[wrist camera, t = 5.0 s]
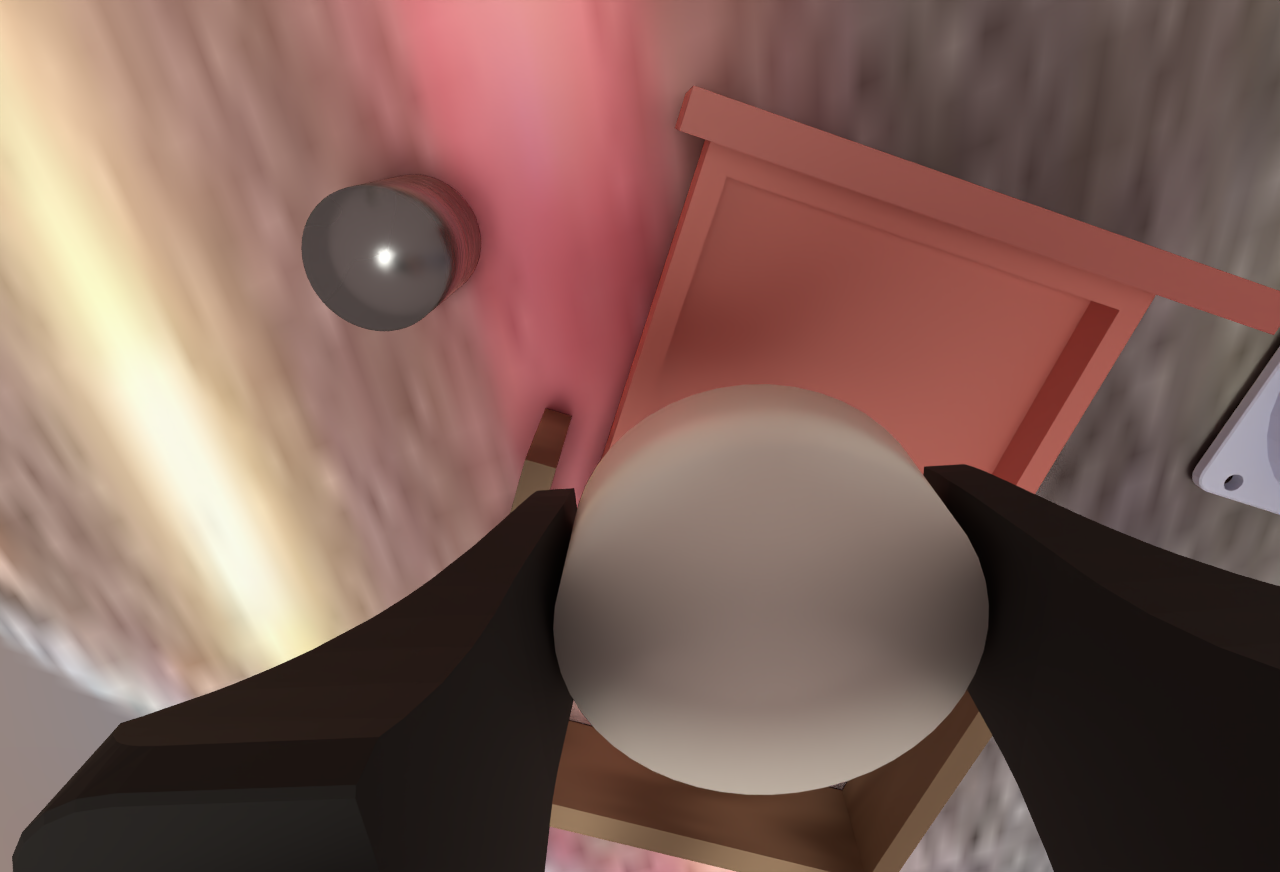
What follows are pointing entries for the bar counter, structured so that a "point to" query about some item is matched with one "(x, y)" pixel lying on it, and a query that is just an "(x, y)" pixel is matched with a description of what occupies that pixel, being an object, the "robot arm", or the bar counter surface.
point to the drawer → (898, 295)
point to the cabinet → (752, 824)
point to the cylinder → (390, 250)
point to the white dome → (766, 594)
